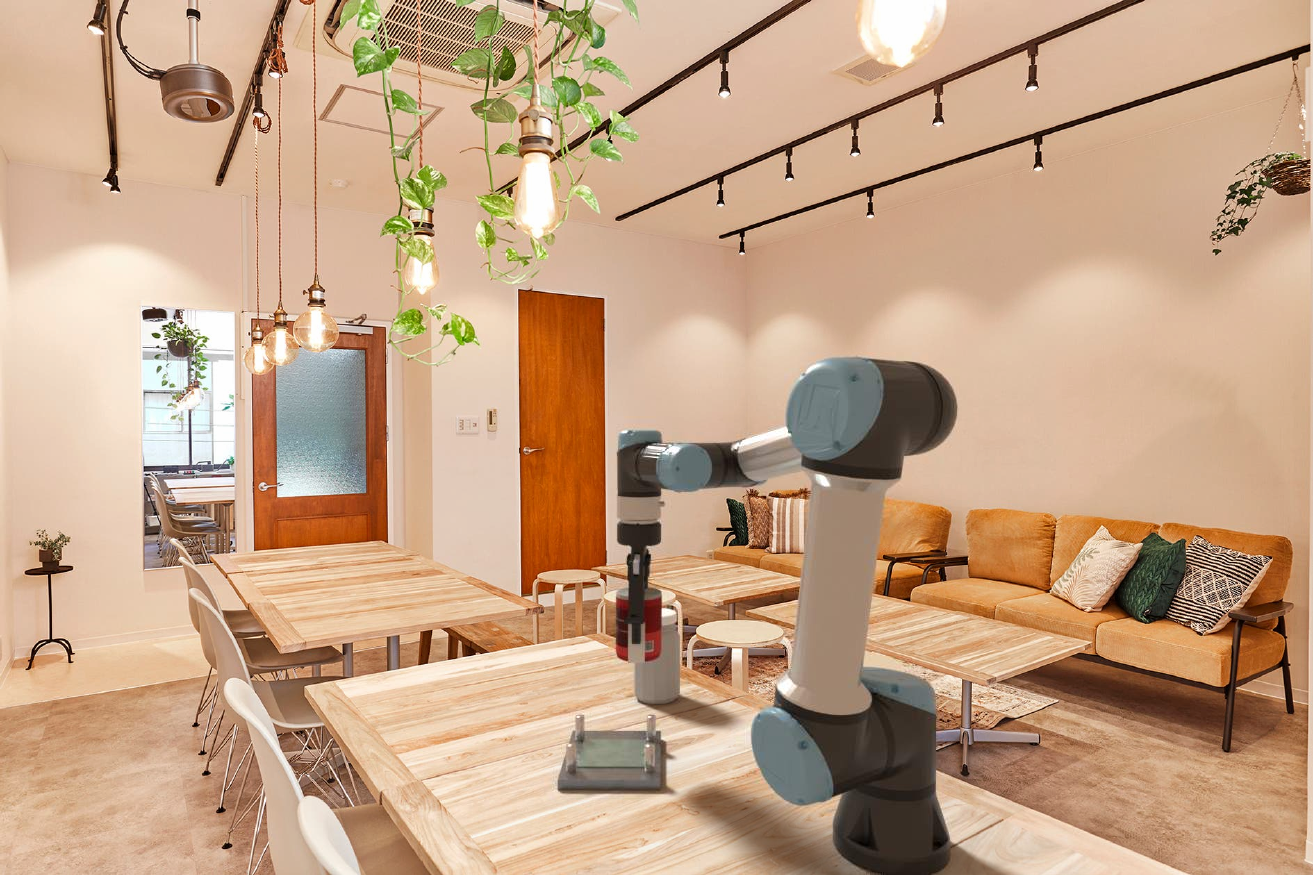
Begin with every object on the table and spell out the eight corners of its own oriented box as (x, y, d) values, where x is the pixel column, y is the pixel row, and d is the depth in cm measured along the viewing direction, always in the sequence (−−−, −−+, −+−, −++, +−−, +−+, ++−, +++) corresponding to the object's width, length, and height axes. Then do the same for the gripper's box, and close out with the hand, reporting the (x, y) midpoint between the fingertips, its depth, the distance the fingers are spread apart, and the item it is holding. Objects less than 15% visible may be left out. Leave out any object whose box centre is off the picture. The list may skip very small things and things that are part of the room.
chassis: (660, 789, 120) (660, 754, 120) (557, 789, 120) (557, 754, 120) (660, 738, 140) (660, 708, 140) (572, 738, 140) (572, 708, 140)
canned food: (669, 652, 133) (669, 589, 133) (647, 665, 126) (648, 598, 126) (630, 646, 137) (630, 584, 136) (607, 658, 130) (607, 593, 129)
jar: (626, 693, 165) (626, 609, 165) (668, 687, 169) (668, 605, 168) (644, 708, 156) (643, 619, 156) (687, 701, 160) (687, 614, 160)
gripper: (658, 529, 120) (657, 674, 121) (663, 513, 141) (662, 637, 142) (610, 528, 121) (609, 673, 121) (622, 513, 141) (621, 637, 142)
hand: (638, 654), depth 131 cm, fingers closed on canned food, 8 cm apart
